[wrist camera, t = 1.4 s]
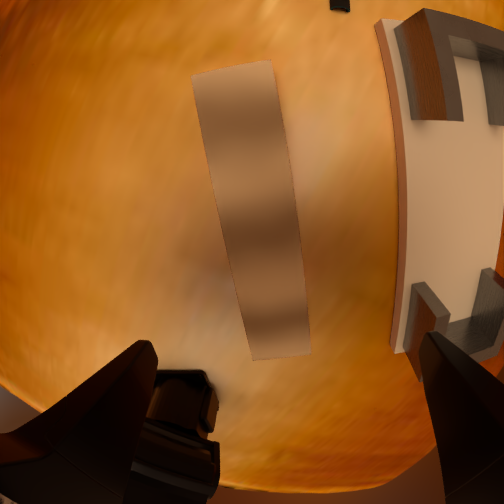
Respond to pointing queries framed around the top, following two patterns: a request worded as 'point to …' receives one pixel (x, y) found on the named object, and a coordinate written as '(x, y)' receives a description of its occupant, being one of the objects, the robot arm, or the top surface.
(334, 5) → the gun
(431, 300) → the end caps
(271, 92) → the beige rectangular bar
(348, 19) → the top surface
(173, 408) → the robot arm
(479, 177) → the end-cap board
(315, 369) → the top surface
